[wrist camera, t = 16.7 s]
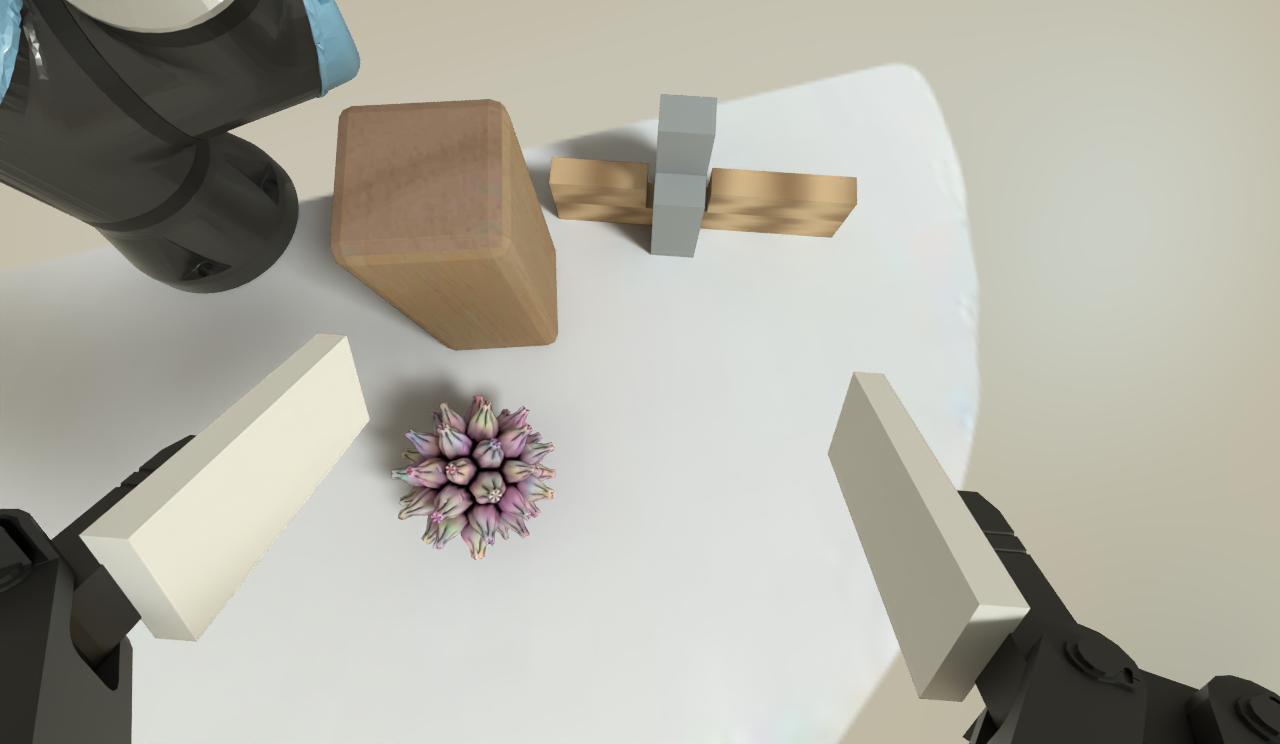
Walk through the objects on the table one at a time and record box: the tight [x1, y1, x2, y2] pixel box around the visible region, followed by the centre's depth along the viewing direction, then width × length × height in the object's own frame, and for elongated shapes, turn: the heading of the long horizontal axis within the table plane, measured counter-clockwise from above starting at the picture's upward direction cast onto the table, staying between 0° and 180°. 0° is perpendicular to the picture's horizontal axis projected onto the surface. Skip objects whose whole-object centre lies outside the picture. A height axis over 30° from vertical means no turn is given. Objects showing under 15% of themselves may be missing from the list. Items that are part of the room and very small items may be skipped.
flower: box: [390, 395, 556, 560], centre depth 40 cm, size 12×12×12 cm
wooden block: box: [330, 99, 558, 350], centre depth 40 cm, size 10×10×20 cm
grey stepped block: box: [651, 94, 717, 257], centre depth 45 cm, size 8×4×14 cm, turn 176°
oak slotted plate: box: [549, 157, 857, 237], centre depth 48 cm, size 26×2×6 cm, turn 86°
